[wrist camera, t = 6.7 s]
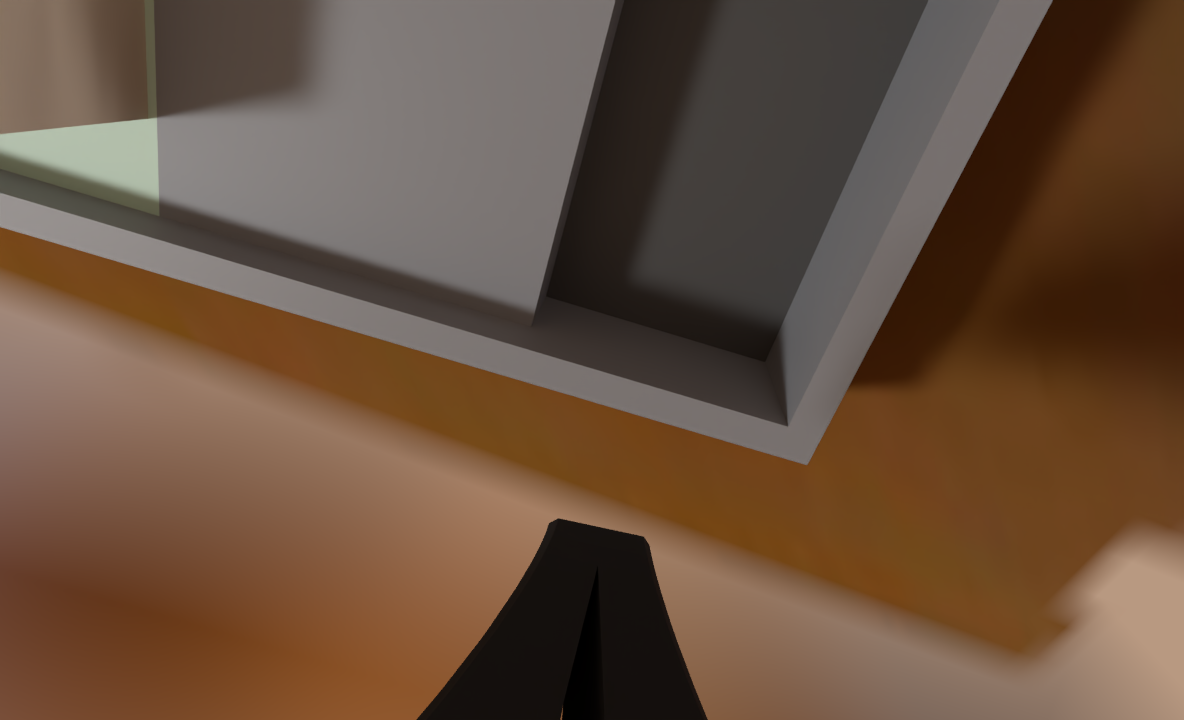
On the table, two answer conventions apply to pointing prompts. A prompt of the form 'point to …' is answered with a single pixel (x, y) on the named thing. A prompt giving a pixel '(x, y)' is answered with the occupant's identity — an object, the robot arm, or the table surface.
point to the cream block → (71, 63)
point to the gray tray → (550, 182)
